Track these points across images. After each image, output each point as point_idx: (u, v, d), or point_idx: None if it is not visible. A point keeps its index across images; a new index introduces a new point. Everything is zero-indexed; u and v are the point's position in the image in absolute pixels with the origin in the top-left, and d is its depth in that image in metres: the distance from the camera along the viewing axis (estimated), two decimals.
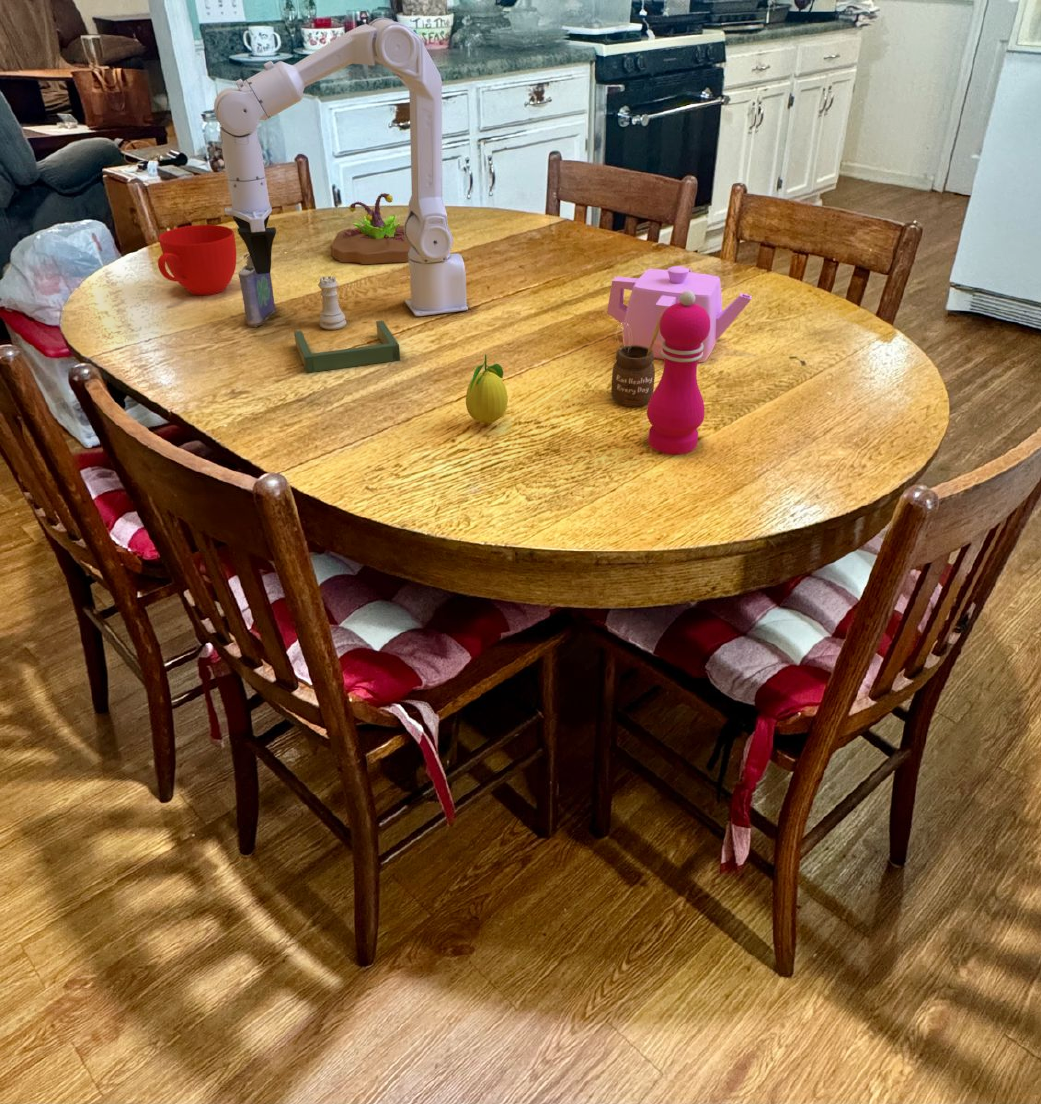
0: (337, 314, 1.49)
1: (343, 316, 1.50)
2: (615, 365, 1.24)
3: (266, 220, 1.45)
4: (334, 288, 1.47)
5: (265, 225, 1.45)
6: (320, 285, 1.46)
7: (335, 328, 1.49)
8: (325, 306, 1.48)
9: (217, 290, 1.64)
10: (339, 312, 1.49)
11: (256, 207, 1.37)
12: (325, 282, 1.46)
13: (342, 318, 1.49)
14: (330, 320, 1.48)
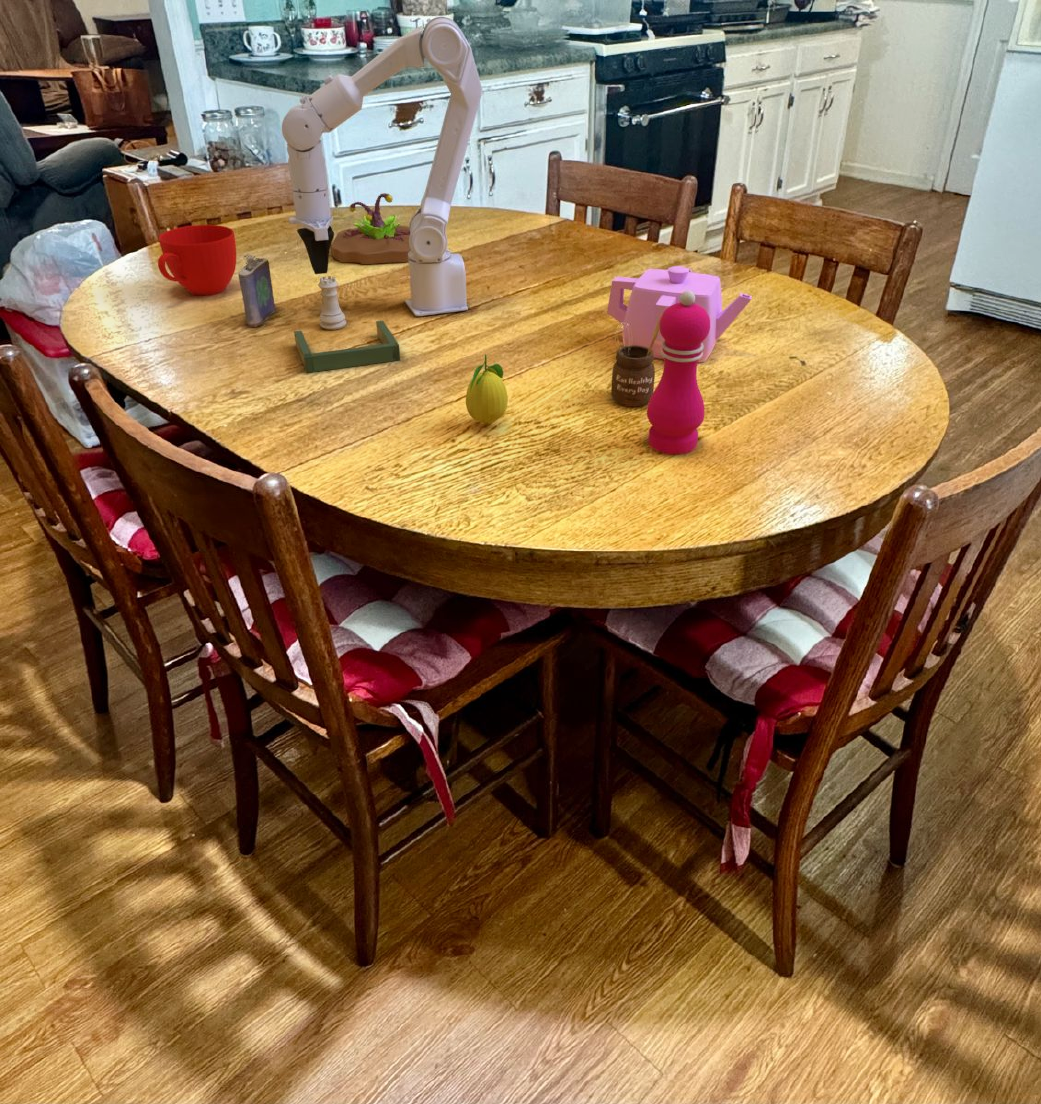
0: (337, 314, 1.49)
1: (343, 316, 1.50)
2: (615, 365, 1.24)
3: None
4: (334, 288, 1.47)
5: None
6: (320, 285, 1.46)
7: (335, 328, 1.49)
8: (325, 306, 1.48)
9: (217, 290, 1.64)
10: (339, 312, 1.49)
11: (319, 217, 1.45)
12: (325, 282, 1.46)
13: (342, 318, 1.49)
14: (330, 320, 1.48)
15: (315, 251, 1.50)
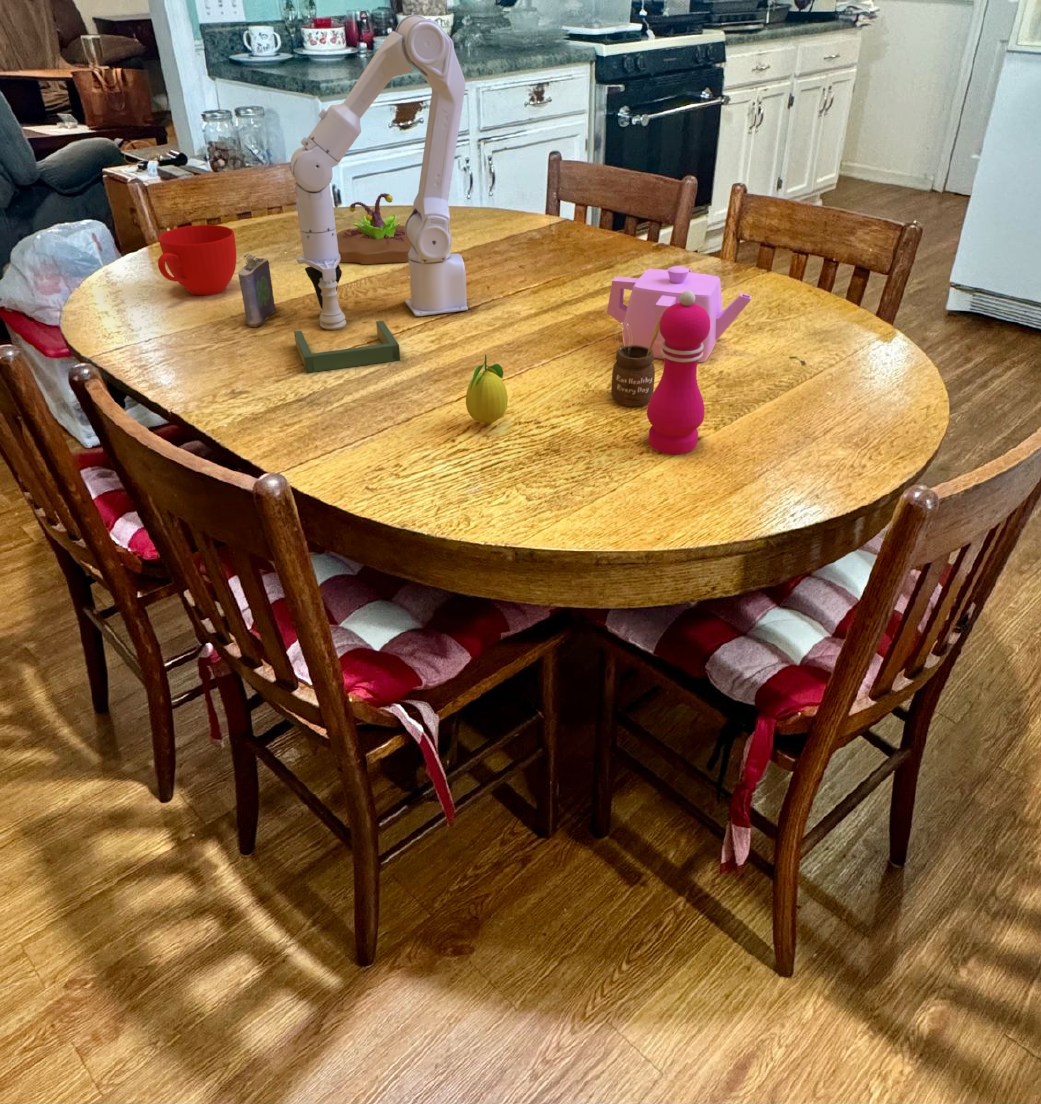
0: (337, 314, 1.49)
1: (343, 316, 1.50)
2: (615, 365, 1.24)
3: None
4: (334, 288, 1.47)
5: None
6: (320, 285, 1.46)
7: (335, 328, 1.49)
8: (325, 306, 1.48)
9: (217, 290, 1.64)
10: (339, 312, 1.49)
11: (327, 256, 1.46)
12: (325, 282, 1.46)
13: (342, 318, 1.49)
14: (330, 321, 1.48)
15: None
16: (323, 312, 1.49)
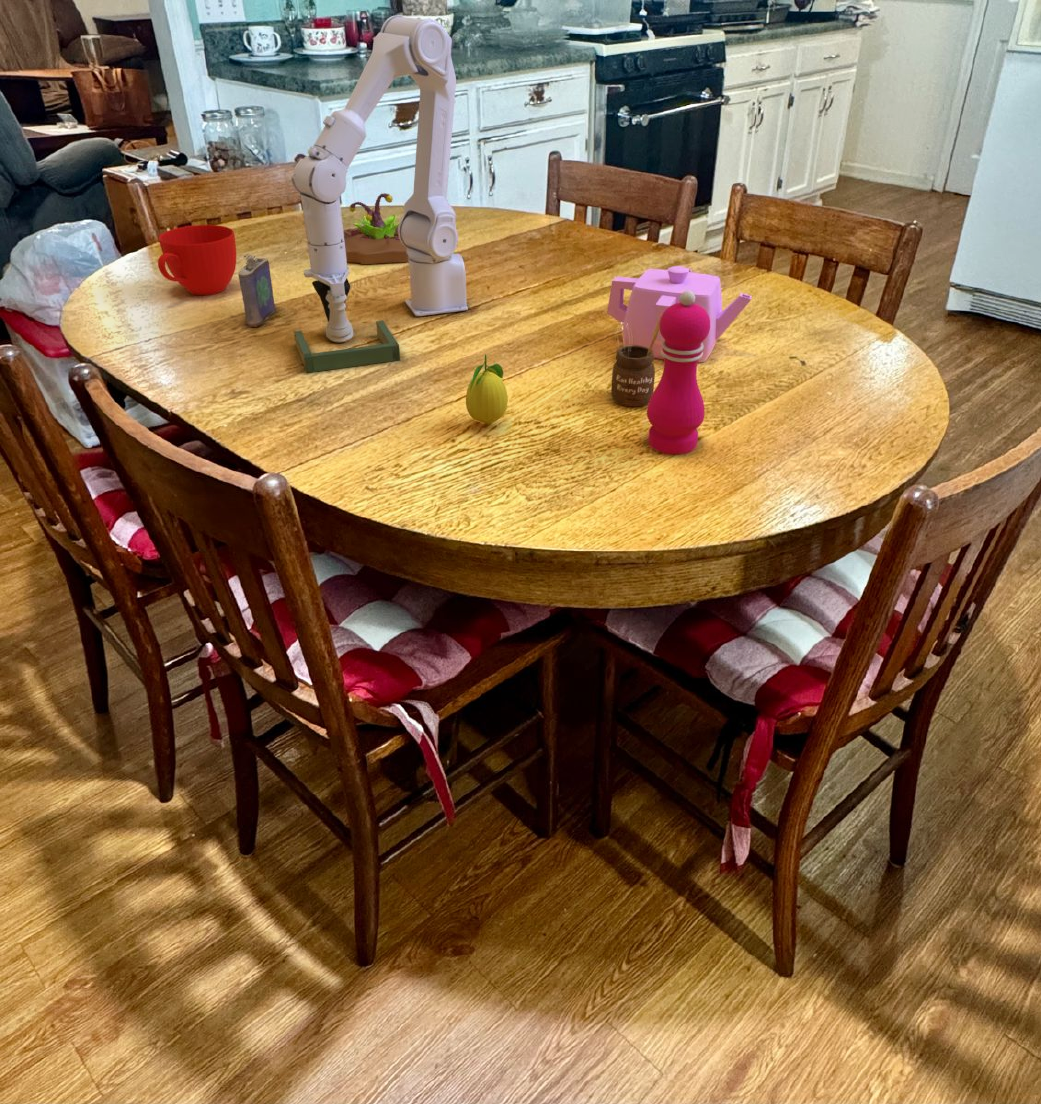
0: (345, 327, 1.44)
1: (351, 328, 1.45)
2: (615, 365, 1.24)
3: None
4: (343, 302, 1.41)
5: None
6: (328, 299, 1.40)
7: (343, 341, 1.44)
8: (333, 319, 1.42)
9: (217, 290, 1.64)
10: (347, 324, 1.44)
11: (335, 270, 1.40)
12: (334, 297, 1.40)
13: (350, 330, 1.44)
14: (338, 334, 1.43)
15: None
16: (330, 324, 1.43)
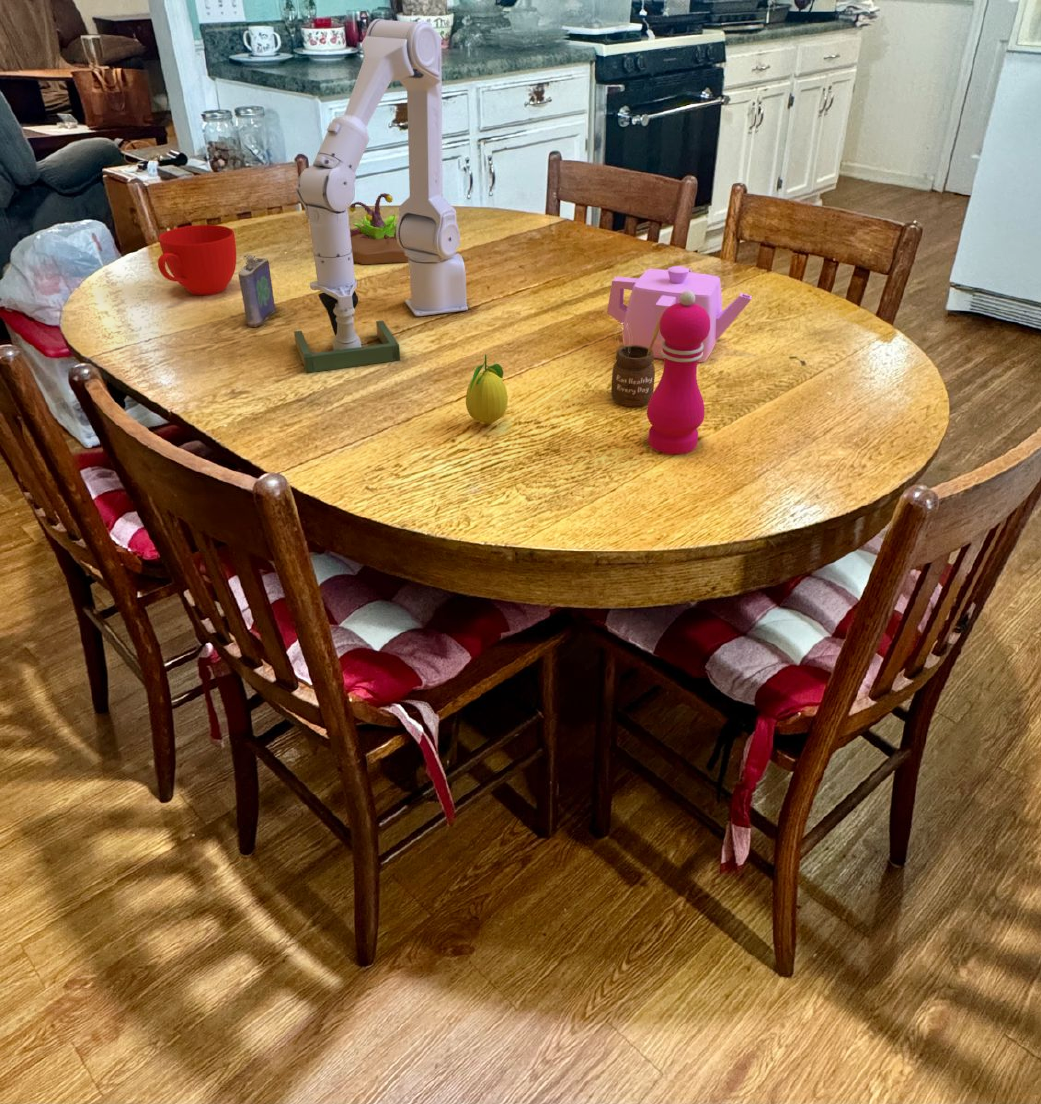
0: (353, 341, 1.39)
1: (359, 342, 1.40)
2: (615, 365, 1.24)
3: None
4: (351, 315, 1.36)
5: None
6: (336, 313, 1.35)
7: None
8: (341, 333, 1.38)
9: (217, 290, 1.64)
10: (355, 338, 1.39)
11: (343, 282, 1.35)
12: (342, 310, 1.35)
13: (358, 344, 1.40)
14: (346, 348, 1.39)
15: None
16: (338, 339, 1.38)
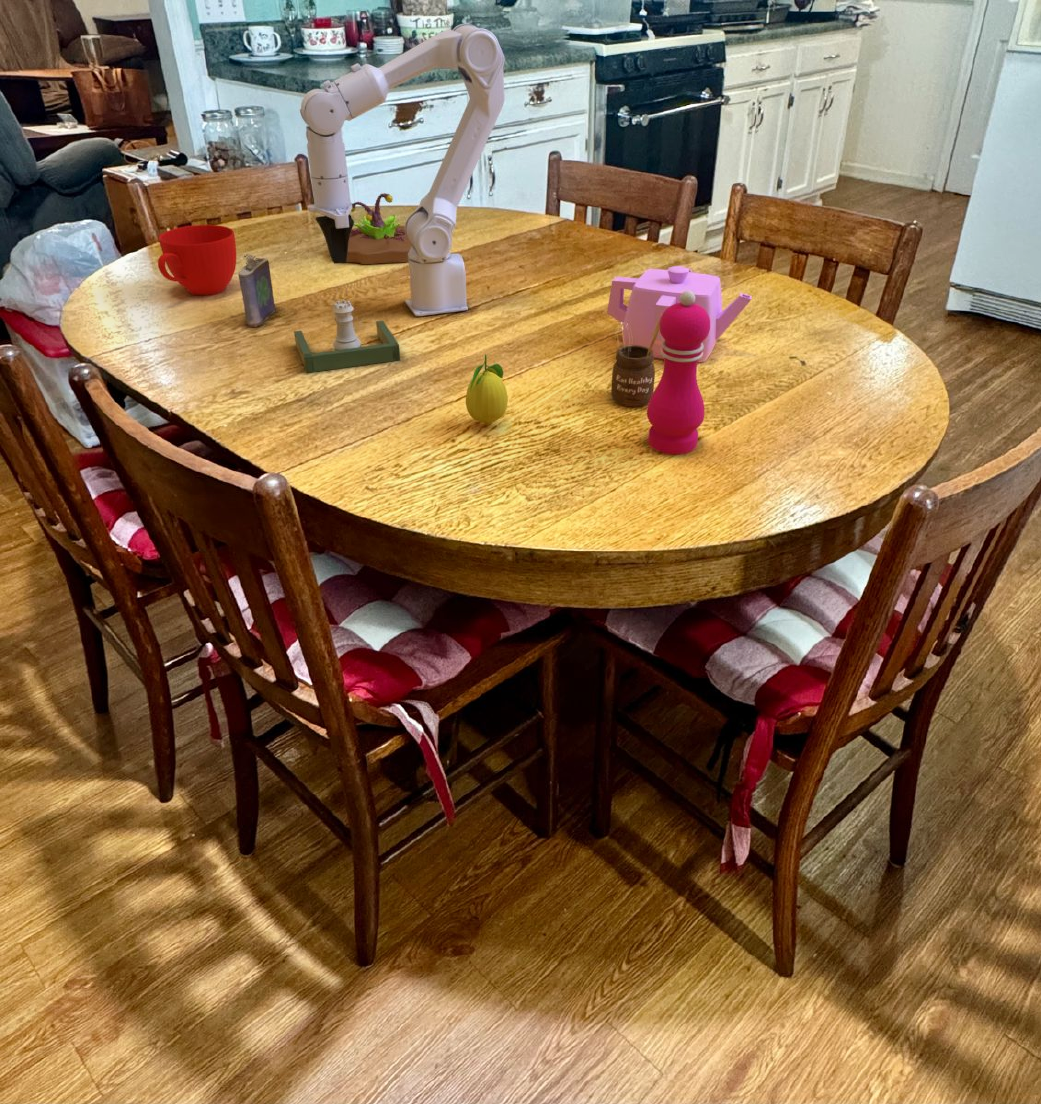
0: (353, 340, 1.39)
1: (359, 342, 1.40)
2: (615, 365, 1.24)
3: None
4: (350, 313, 1.37)
5: None
6: (335, 310, 1.36)
7: None
8: (340, 332, 1.38)
9: (217, 290, 1.64)
10: (355, 338, 1.39)
11: (339, 204, 1.42)
12: (340, 307, 1.36)
13: (358, 344, 1.40)
14: (346, 347, 1.39)
15: (334, 240, 1.46)
16: (338, 339, 1.39)
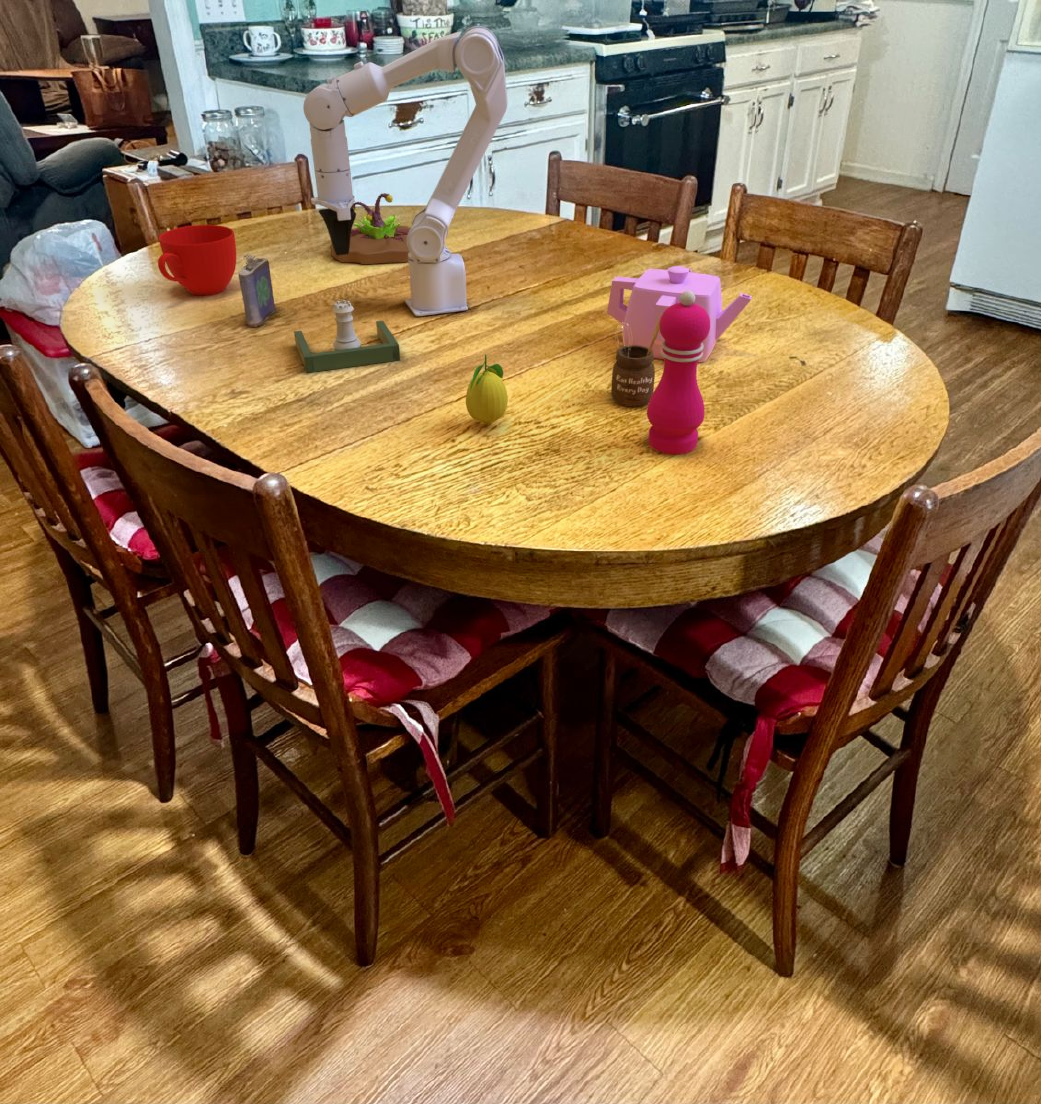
0: (353, 340, 1.39)
1: (359, 342, 1.40)
2: (615, 365, 1.24)
3: None
4: (350, 313, 1.37)
5: None
6: (335, 310, 1.36)
7: None
8: (340, 332, 1.38)
9: (217, 290, 1.64)
10: (355, 338, 1.39)
11: (341, 197, 1.45)
12: (340, 307, 1.36)
13: (358, 344, 1.40)
14: (346, 347, 1.39)
15: (337, 232, 1.50)
16: (338, 339, 1.39)
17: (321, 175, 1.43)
